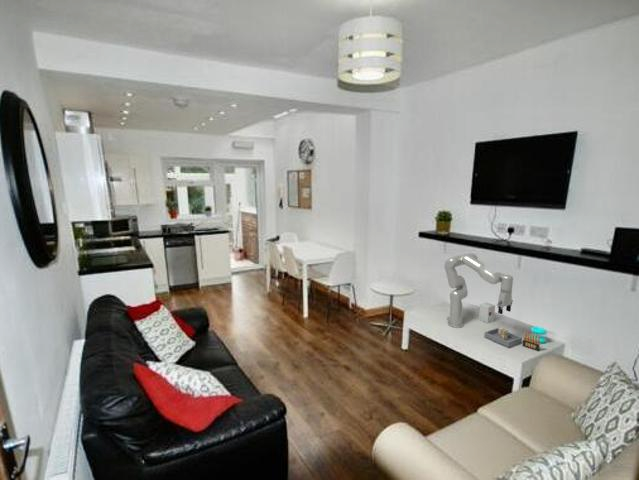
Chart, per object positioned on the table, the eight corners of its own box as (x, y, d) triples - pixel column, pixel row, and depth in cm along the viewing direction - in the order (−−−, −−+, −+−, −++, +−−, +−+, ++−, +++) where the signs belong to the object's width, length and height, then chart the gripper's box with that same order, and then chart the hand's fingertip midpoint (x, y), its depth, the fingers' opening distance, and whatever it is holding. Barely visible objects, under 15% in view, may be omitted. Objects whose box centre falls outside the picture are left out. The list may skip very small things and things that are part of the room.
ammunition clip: (522, 346, 249) (523, 331, 247) (523, 345, 250) (524, 330, 248) (538, 351, 241) (539, 335, 239) (539, 350, 242) (540, 335, 240)
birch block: (498, 338, 260) (498, 328, 258) (501, 337, 262) (502, 327, 260) (503, 340, 256) (504, 331, 254) (507, 339, 258) (507, 329, 256)
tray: (484, 337, 264) (484, 332, 263) (497, 332, 271) (497, 327, 270) (508, 348, 246) (508, 342, 246) (521, 343, 254) (522, 337, 253)
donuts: (542, 326, 259) (549, 331, 249) (541, 338, 260) (548, 344, 251) (528, 325, 260) (534, 331, 251) (527, 337, 262) (533, 343, 252)
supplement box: (487, 323, 289) (488, 307, 286) (478, 319, 297) (479, 304, 294) (494, 321, 293) (495, 305, 290) (485, 317, 301) (486, 302, 298)
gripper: (508, 287, 259) (506, 308, 262) (494, 291, 251) (492, 312, 254) (518, 290, 252) (516, 311, 256) (503, 294, 245) (501, 316, 248)
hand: (504, 312), depth 255 cm, fingers open, 9 cm apart
